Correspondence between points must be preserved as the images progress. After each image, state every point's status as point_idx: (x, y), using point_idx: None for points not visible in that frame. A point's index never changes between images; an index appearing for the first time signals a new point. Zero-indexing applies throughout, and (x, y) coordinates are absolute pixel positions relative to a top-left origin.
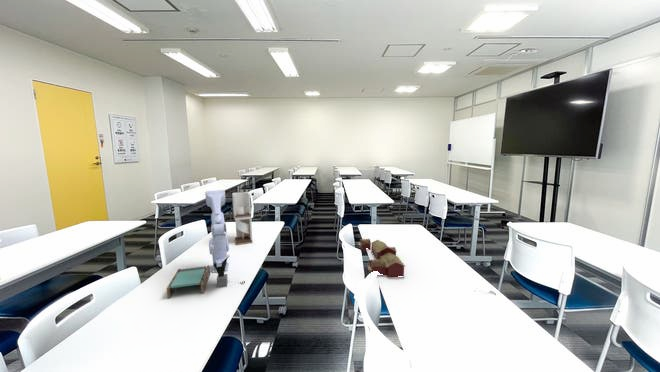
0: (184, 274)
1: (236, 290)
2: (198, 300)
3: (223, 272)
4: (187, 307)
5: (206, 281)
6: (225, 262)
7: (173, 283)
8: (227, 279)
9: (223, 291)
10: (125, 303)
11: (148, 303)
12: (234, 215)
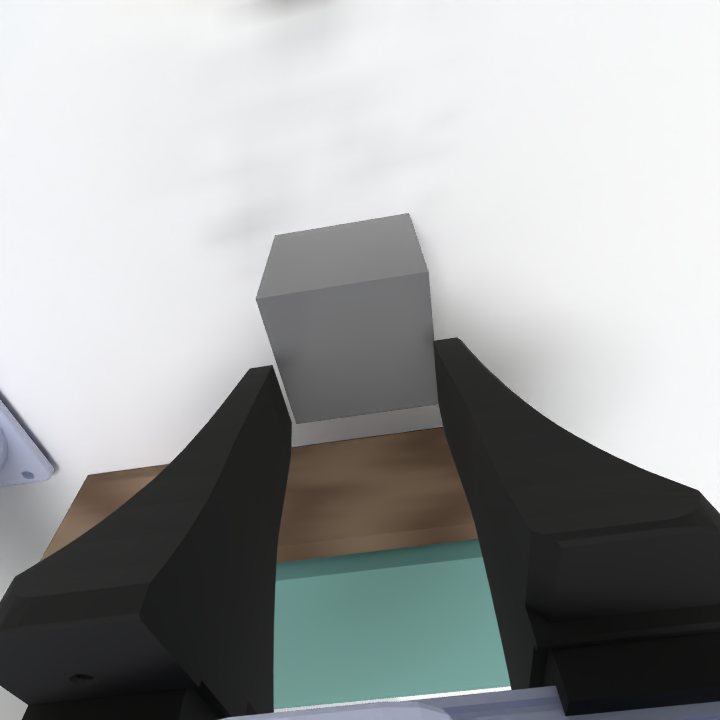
0: (309, 677)
1: (577, 13)
2: (626, 422)
3: (494, 385)
4: (705, 462)
5: (320, 470)
6: (212, 507)
7: (477, 684)
8: (298, 253)
9: (533, 228)
10: None
11: None
12: None
